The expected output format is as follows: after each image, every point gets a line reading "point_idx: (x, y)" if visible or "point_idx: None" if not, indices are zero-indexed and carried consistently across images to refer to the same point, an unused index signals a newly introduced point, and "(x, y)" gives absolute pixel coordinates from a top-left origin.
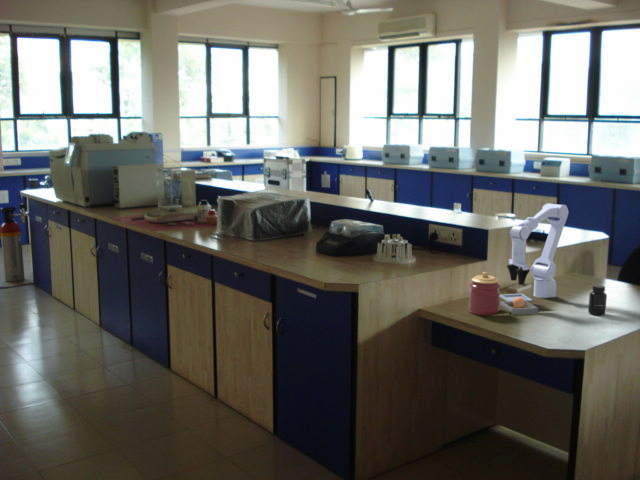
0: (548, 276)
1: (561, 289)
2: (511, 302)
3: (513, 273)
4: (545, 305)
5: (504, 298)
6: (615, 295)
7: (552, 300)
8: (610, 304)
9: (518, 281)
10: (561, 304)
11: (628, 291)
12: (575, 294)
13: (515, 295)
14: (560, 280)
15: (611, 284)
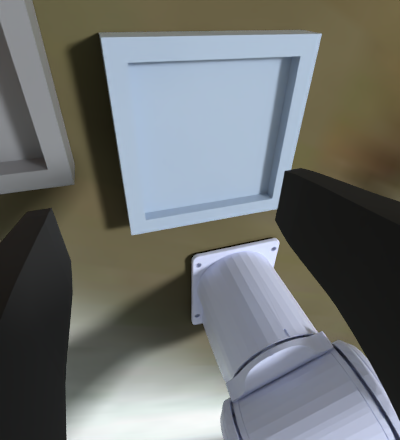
0: (223, 431)
1: None
2: (1, 18)
3: (351, 254)
4: (85, 272)
5: (218, 34)
6: (202, 425)
7: (181, 307)
8: (104, 430)
9: (31, 231)
10: (106, 330)
11: None
12: None
13: (275, 162)
14: None
15: None
